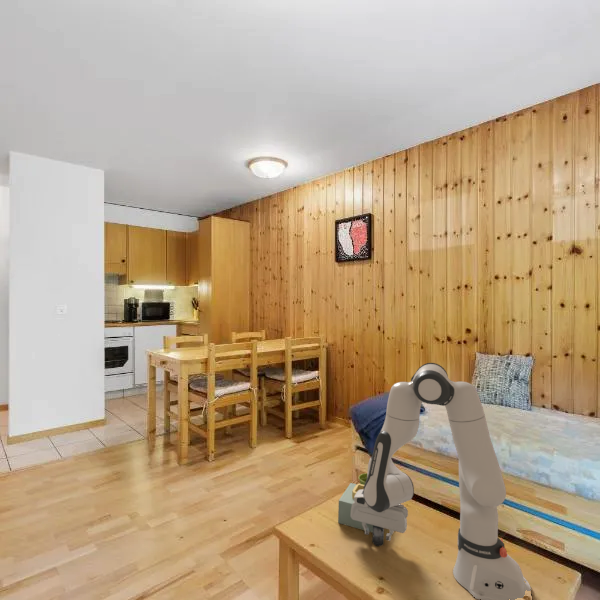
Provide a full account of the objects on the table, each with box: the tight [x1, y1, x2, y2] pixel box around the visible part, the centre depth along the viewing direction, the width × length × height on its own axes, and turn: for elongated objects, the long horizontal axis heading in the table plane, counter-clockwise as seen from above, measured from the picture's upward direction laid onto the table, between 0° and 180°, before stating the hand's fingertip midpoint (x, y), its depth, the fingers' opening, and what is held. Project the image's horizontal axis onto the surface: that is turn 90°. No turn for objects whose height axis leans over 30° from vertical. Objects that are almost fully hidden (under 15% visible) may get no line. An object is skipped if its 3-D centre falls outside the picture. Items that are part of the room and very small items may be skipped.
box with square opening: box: [337, 482, 373, 534], centre depth 158 cm, size 16×16×12 cm
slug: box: [371, 525, 385, 547], centre depth 142 cm, size 4×4×6 cm
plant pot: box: [358, 472, 367, 485], centre depth 174 cm, size 9×9×9 cm
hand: (377, 536), depth 142 cm, fingers open, 6 cm apart
